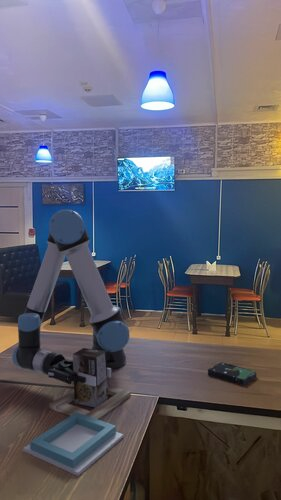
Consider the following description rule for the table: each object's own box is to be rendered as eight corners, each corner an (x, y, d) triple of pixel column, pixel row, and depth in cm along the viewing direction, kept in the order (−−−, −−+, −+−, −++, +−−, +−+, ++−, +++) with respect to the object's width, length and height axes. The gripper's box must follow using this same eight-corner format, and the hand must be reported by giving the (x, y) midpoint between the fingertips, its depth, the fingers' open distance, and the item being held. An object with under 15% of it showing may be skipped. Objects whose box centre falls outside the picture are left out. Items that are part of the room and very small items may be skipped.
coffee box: (108, 400, 120) (107, 350, 119) (97, 409, 114) (97, 357, 113) (84, 394, 124) (83, 347, 123) (73, 403, 118) (72, 353, 117)
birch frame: (48, 408, 115) (48, 403, 115) (90, 384, 132) (90, 380, 132) (92, 423, 106) (91, 418, 106) (130, 396, 123) (130, 391, 123)
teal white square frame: (23, 450, 93) (23, 440, 93) (72, 419, 108) (72, 409, 108) (78, 476, 84) (78, 464, 84) (123, 437, 99) (123, 427, 99)
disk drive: (207, 376, 140) (244, 387, 130) (207, 369, 140) (244, 379, 130) (220, 368, 148) (256, 378, 138) (220, 361, 147) (256, 370, 138)
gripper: (69, 364, 136) (121, 377, 124) (27, 384, 119) (82, 401, 107) (69, 344, 136) (121, 355, 124) (26, 361, 119) (81, 376, 107)
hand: (103, 377), depth 116 cm, fingers closed on coffee box, 7 cm apart
